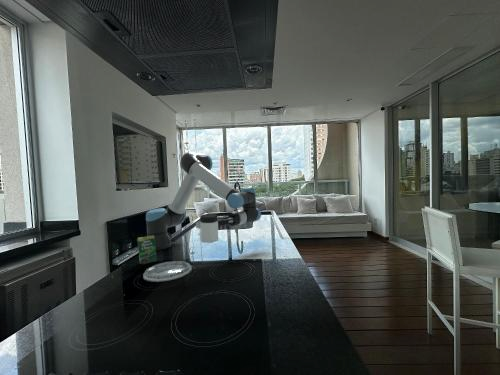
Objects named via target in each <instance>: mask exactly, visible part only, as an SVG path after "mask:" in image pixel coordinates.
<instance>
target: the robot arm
mask: <svg viewBox="0 0 500 375" xmlns="http://www.w3.org/2000/svg"><path fill="white" fill-rule="evenodd" d="M179 164H180V167H181V169H182V170H183V171H184V172H185V173H186V174H185V175H184V177H183V180H182V182H181V184H180V187H179V188H178V190H177V192H176V194H175V196H174V198H173V200H172V202H170V203H168V204H167V207H166V208H163V207H161V208H154V209H151V210H148V211H147V212H146V213H145V221H146V222H145V223H146V234H147V235H146V236H151V235H154V239H155V247H156V251H160V250H161V249H162V250H166V249H169V248H171V247H172V241H171V239H170V236H169V234H168V229H169V228H172V227H176V226H179V225H181V224H182V223H184V222H185V220H186V217H187V216H186V205H187V204H188V202H189V200H190V198H191V196H192V194H193V193H194V190H195V188H196V187H197V185H198V184H199V181H200V182H201V183H203V184H204V185H205V186H206V187H208V188H209V189H211V190H212V191H213V192H214V193H216V194H217V195H219V196H220V197H222V199H224V200H225V201H226V203H227V205H228V206H229V207H230V208H231V209H239V210H235V211H229V212H228V213H227V216H226V215H223V216H217V221H218V227H220V226H224V225H229V226H230V227H234V226H239V225H240V226H243V224H249V223H254V222H259V220H260V219H261V218H262V212H261V209H259V208H258V207H257V197H256V196H257V195H256V189H255V187H244V188H242V189H241V191H239V190H238V189H236V188H235V187H233V186H232V185H231V184H229V183H227V182H226V181H225V180H223V179H222V178H220V177H219V176H218V175H216V174H215V173H214V172H212V171H211V170H212V169H213V165H214V164H213V160H212V158H211V156H210V155H209V154H207V153H204V152H195V151H188V152H186V153H184V154H183V155H182V156H181V158H180V163H179ZM240 208H242V209H240ZM195 228H196V229H200V221H195Z"/></svg>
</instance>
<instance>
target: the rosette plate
mask: <svg viewBox="0 0 500 375" xmlns="http://www.w3.org/2000/svg"><path fill="white" fill-rule="evenodd" d="M191 272H192V265H191V264H190V262H187V261H184V260H183V261H182V260H181V261H180V260H174V261H172V260H171V261H165V262H161V263H157V264H154V265H152V266H150V267H148V268H146V270H145V271H144V273H142V275H143V276H142V278H143V280H144V281H147V282H152V283H163V282H164V283H165V282H169V281H175V280H178V279H180V278H183V277H185V276H187V275H189V274H190V273H191Z"/></svg>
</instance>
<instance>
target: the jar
mask: <svg viewBox="0 0 500 375" xmlns="http://www.w3.org/2000/svg"><path fill="white" fill-rule="evenodd" d="M217 217H218V215H217V214H215V213H207V214H201V215H199V222H200V228H199V240H200V241H201V243H207V244H212V243H215V242H218V241H219V226H218V221H217Z"/></svg>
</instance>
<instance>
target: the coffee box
mask: <svg viewBox="0 0 500 375" xmlns="http://www.w3.org/2000/svg"><path fill="white" fill-rule="evenodd" d="M137 249H138V250H137V251H138V258H139V260H138V261H139V264H141V265H147V264H150V263H155V262H158V260H157V250H156V247H155V239H154V235H151V236H147V235H146V236H142V237H137Z"/></svg>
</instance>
